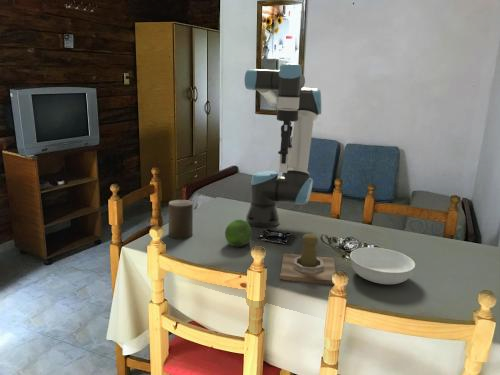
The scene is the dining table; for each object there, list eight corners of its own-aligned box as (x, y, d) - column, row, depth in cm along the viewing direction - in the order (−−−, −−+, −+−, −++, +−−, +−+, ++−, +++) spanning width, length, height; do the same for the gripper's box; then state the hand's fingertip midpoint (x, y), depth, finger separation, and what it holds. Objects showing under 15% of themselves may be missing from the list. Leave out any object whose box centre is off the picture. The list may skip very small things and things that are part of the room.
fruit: (234, 235, 173) (235, 212, 171) (257, 239, 170) (258, 215, 168) (220, 248, 160) (220, 223, 157) (244, 253, 156) (245, 227, 154)
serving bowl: (426, 288, 134) (429, 269, 133) (369, 296, 129) (371, 275, 127) (388, 261, 154) (390, 244, 152) (337, 267, 148) (338, 248, 146)
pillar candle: (185, 240, 166) (186, 204, 162) (164, 236, 169) (163, 201, 165) (196, 232, 175) (197, 198, 171) (175, 229, 178) (175, 195, 174)
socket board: (283, 257, 154) (284, 249, 153) (333, 261, 152) (333, 253, 151) (279, 279, 137) (280, 270, 136) (335, 285, 134) (336, 276, 134)
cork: (316, 269, 141) (319, 239, 138) (298, 267, 142) (300, 237, 140) (317, 262, 147) (319, 233, 144) (300, 260, 148) (302, 231, 145)
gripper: (279, 106, 160) (276, 161, 165) (274, 111, 136) (270, 175, 141) (299, 107, 159) (295, 162, 164) (297, 112, 135) (293, 176, 141)
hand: (284, 168), depth 153 cm, fingers open, 13 cm apart
